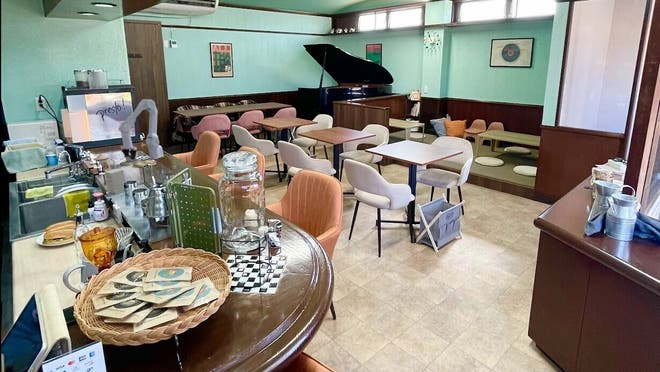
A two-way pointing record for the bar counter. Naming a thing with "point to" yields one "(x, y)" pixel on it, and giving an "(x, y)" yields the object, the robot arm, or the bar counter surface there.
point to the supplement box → (115, 180)
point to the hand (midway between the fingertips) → (131, 159)
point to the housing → (129, 159)
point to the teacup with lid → (104, 161)
